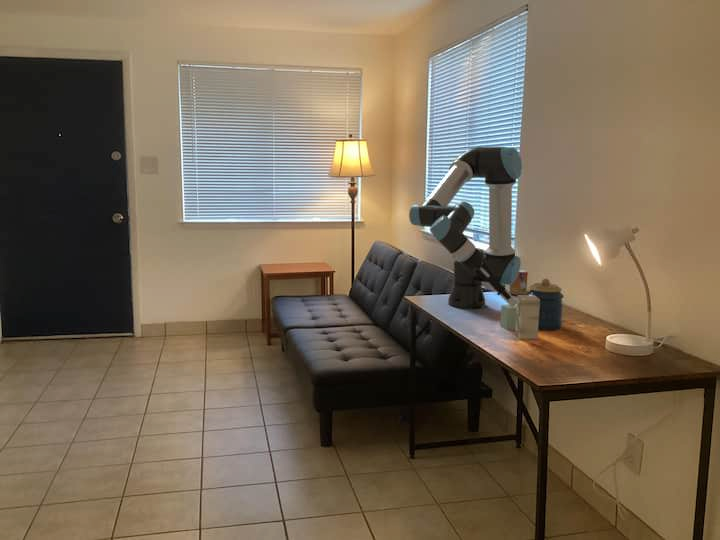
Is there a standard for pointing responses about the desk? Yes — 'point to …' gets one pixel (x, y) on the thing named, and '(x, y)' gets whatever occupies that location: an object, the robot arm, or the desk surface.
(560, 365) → the desk surface
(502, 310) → the sage block
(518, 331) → the tall white box
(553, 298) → the canister
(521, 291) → the small box
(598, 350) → the desk surface
